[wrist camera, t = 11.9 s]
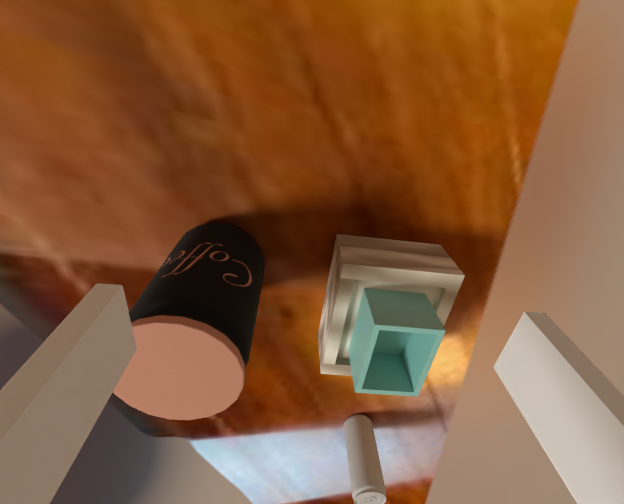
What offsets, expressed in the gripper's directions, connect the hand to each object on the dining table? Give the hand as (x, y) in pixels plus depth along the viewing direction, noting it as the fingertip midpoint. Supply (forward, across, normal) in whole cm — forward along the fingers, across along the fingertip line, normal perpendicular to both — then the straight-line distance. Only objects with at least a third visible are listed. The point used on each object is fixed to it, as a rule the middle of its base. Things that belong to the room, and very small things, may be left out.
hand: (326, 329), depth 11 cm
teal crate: (+21, +10, -18) cm, 29 cm away
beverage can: (+26, +13, -45) cm, 54 cm away
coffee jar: (+27, -9, -15) cm, 32 cm away
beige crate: (+27, +10, -18) cm, 34 cm away
